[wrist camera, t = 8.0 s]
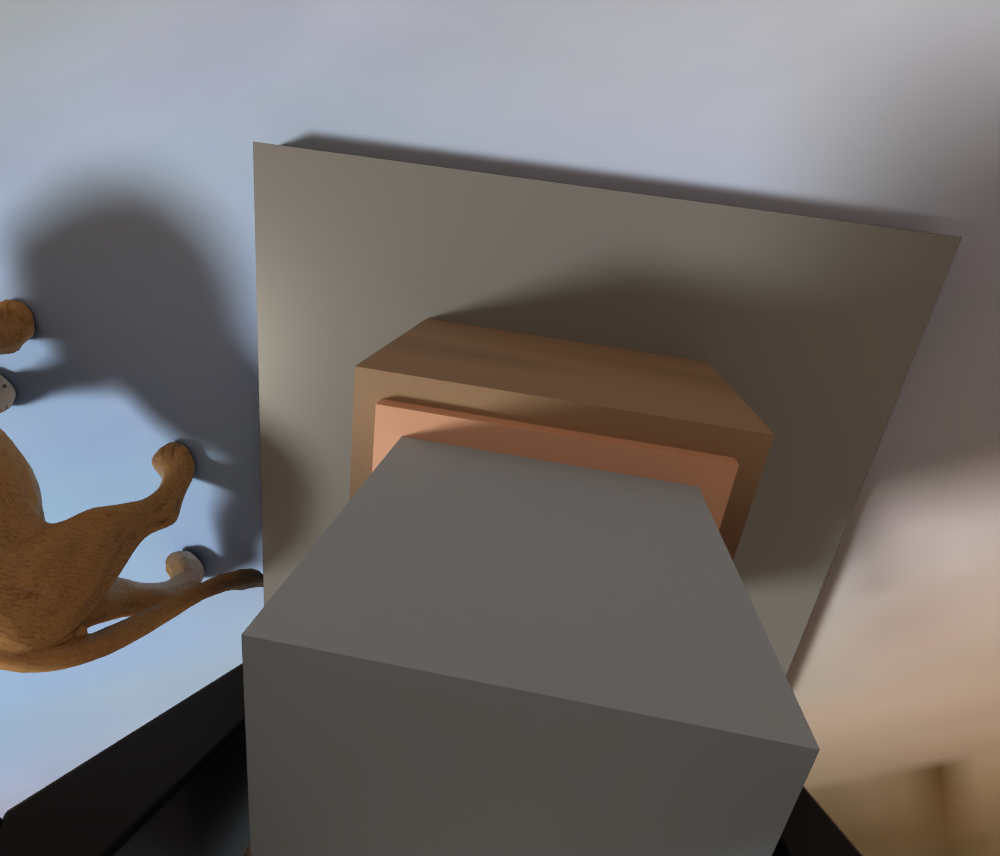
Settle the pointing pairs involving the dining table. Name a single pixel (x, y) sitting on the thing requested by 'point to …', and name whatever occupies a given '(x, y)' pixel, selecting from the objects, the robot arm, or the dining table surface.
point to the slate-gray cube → (517, 674)
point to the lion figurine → (85, 555)
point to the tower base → (591, 283)
